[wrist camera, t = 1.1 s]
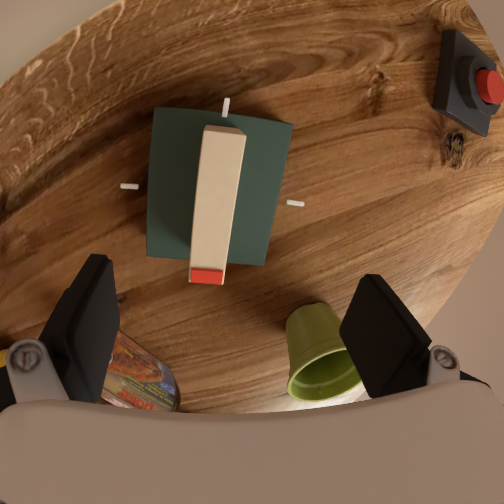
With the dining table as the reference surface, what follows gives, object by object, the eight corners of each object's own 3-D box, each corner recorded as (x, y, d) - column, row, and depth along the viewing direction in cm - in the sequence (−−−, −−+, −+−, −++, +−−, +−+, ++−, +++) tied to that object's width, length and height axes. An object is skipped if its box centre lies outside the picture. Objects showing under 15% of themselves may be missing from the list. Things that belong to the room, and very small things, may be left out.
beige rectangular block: (205, 124, 18) (203, 130, 14) (239, 128, 19) (247, 135, 15) (191, 250, 23) (188, 284, 19) (220, 252, 23) (223, 287, 19)
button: (476, 63, 16) (488, 64, 14) (494, 79, 16) (505, 80, 15) (473, 93, 17) (485, 95, 16) (490, 107, 18) (502, 110, 17)
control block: (442, 30, 17) (467, 28, 13) (484, 63, 18) (507, 65, 15) (432, 108, 22) (458, 113, 18) (474, 133, 23) (497, 141, 20)
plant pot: (360, 308, 33) (390, 359, 26) (309, 355, 36) (327, 407, 29) (310, 276, 30) (339, 334, 22) (255, 332, 33) (267, 393, 25)
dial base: (138, 93, 19) (127, 91, 16) (310, 114, 21) (324, 116, 19) (131, 248, 25) (123, 266, 23) (277, 260, 28) (284, 279, 25)
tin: (183, 376, 35) (182, 429, 28) (167, 383, 36) (164, 434, 29) (96, 309, 28) (75, 366, 21) (82, 320, 29) (61, 374, 22)
